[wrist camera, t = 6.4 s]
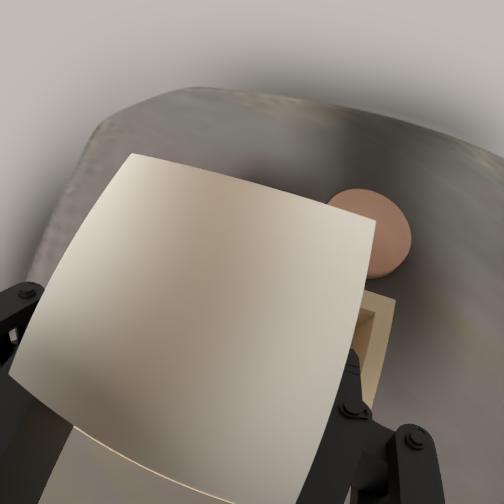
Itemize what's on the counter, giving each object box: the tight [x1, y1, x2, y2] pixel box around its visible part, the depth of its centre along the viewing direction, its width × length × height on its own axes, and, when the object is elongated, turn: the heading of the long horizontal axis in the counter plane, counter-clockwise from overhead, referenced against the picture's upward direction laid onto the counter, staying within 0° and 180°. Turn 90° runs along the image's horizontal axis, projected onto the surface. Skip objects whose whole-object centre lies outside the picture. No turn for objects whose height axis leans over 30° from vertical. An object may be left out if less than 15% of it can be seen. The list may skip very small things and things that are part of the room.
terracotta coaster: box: [327, 189, 411, 279], centre depth 20 cm, size 6×6×1 cm
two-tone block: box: [8, 153, 376, 504], centre depth 10 cm, size 5×5×13 cm
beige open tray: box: [73, 290, 396, 504], centre depth 15 cm, size 14×12×4 cm
